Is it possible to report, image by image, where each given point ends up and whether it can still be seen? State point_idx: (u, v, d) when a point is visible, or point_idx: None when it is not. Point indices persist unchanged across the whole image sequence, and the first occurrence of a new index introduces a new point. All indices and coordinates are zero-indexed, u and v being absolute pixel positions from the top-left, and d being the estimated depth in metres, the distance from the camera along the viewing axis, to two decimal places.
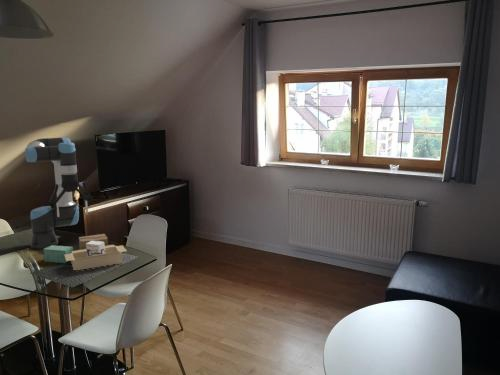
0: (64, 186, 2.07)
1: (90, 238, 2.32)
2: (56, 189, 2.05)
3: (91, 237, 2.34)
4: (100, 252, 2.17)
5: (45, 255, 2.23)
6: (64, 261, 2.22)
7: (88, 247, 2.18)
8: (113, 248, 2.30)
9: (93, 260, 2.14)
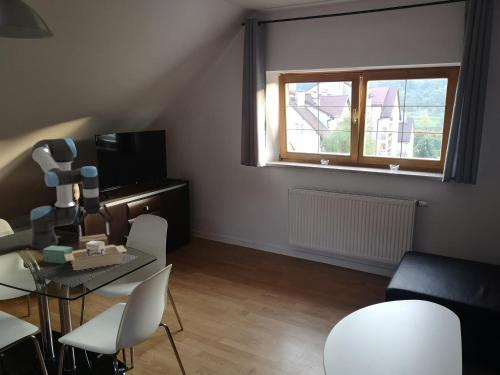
0: (86, 209, 2.13)
1: (90, 238, 2.32)
2: (79, 212, 2.12)
3: (91, 237, 2.34)
4: (100, 252, 2.17)
5: (44, 255, 2.23)
6: (63, 261, 2.21)
7: (88, 247, 2.18)
8: (113, 248, 2.30)
9: (93, 260, 2.14)
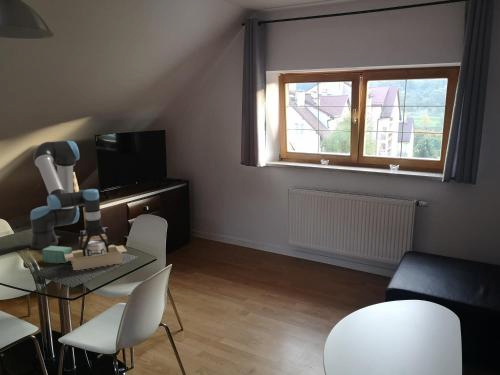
0: (88, 231, 2.16)
1: (90, 238, 2.32)
2: (82, 236, 2.14)
3: (91, 237, 2.34)
4: (100, 252, 2.17)
5: (44, 255, 2.23)
6: (62, 262, 2.21)
7: (88, 247, 2.18)
8: (113, 248, 2.30)
9: (93, 260, 2.14)
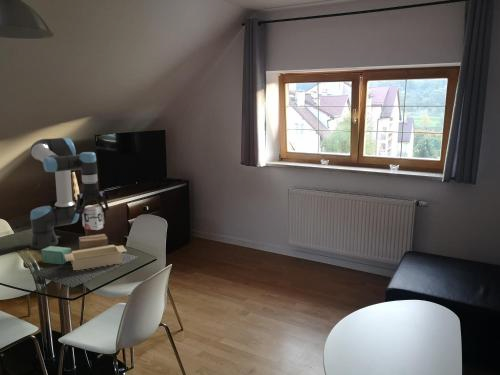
0: (85, 194, 2.12)
1: (90, 238, 2.32)
2: (78, 199, 2.11)
3: (91, 237, 2.34)
4: (97, 216, 2.14)
5: (43, 256, 2.22)
6: (61, 262, 2.20)
7: (85, 211, 2.15)
8: (113, 248, 2.30)
9: (93, 260, 2.14)
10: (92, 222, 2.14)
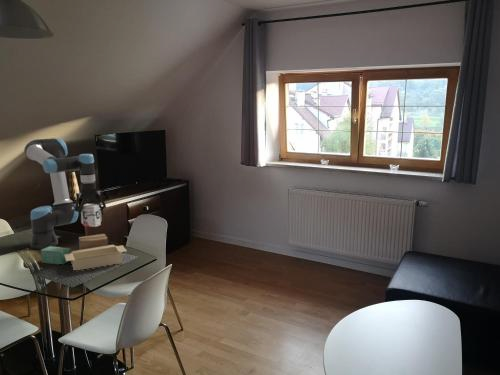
0: (84, 193, 2.26)
1: (90, 238, 2.32)
2: (77, 198, 2.25)
3: (91, 237, 2.34)
4: (95, 214, 2.28)
5: (42, 256, 2.22)
6: (60, 263, 2.20)
7: (84, 209, 2.29)
8: (113, 248, 2.30)
9: (93, 260, 2.14)
10: (90, 219, 2.28)
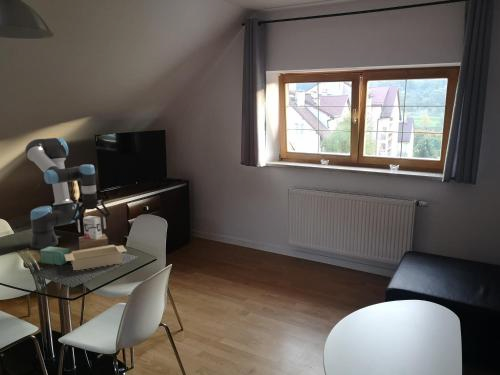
0: (84, 204, 2.28)
1: None
2: (77, 207, 2.26)
3: None
4: (96, 226, 2.29)
5: (41, 256, 2.22)
6: (59, 263, 2.19)
7: (85, 221, 2.30)
8: (113, 248, 2.30)
9: (93, 260, 2.14)
10: (91, 231, 2.30)
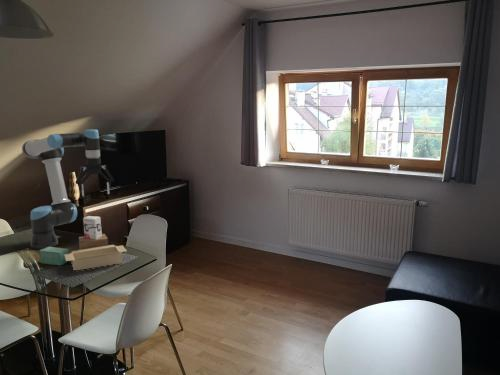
0: (88, 169, 2.30)
1: None
2: (81, 171, 2.28)
3: None
4: (96, 226, 2.29)
5: (41, 256, 2.21)
6: (59, 263, 2.19)
7: (85, 221, 2.30)
8: (113, 248, 2.30)
9: (93, 260, 2.14)
10: (91, 231, 2.30)
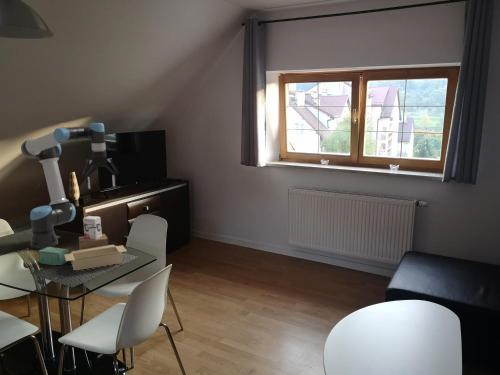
0: (94, 161, 2.34)
1: None
2: (88, 164, 2.33)
3: None
4: (96, 226, 2.29)
5: (40, 257, 2.21)
6: (58, 264, 2.18)
7: (85, 221, 2.30)
8: (113, 248, 2.30)
9: (93, 260, 2.14)
10: (91, 231, 2.30)
